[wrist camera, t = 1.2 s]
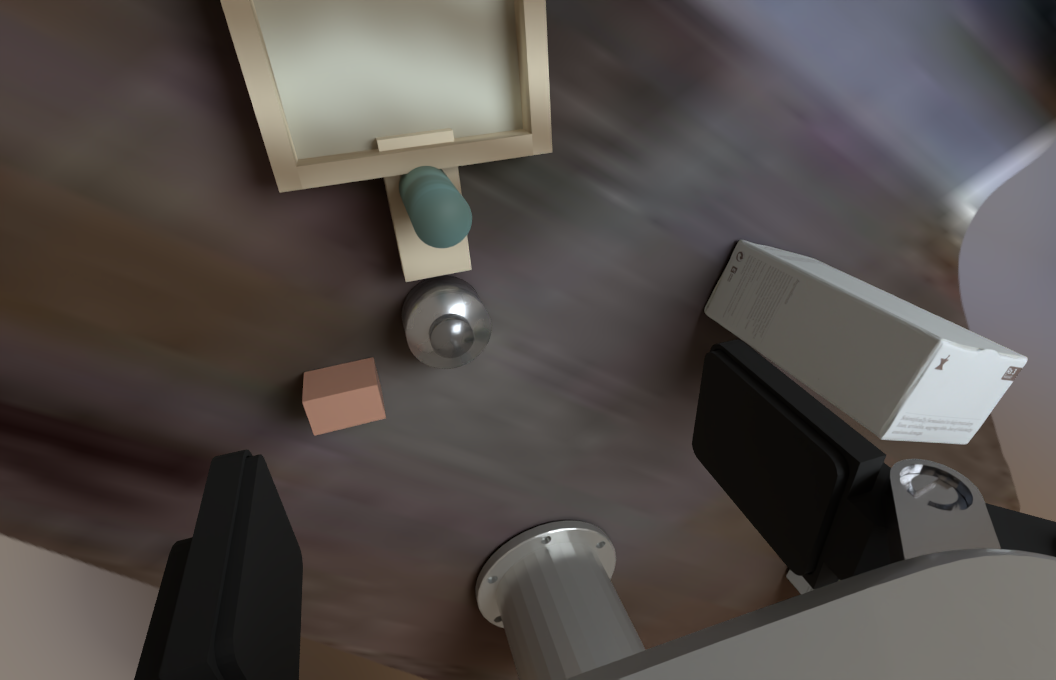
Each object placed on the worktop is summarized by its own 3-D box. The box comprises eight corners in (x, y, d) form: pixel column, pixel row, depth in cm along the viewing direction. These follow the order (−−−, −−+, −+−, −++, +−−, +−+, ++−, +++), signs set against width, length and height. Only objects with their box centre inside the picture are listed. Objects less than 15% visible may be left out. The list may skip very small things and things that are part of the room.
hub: (485, 338, 35) (498, 365, 32) (409, 355, 34) (416, 384, 31) (476, 268, 32) (490, 291, 30) (394, 284, 31) (400, 309, 29)
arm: (543, 245, 33) (587, 292, 27) (315, 287, 30) (312, 350, 24) (519, -184, 23) (580, -246, 17) (173, -182, 20) (115, -257, 14)
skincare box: (700, 311, 39) (869, 446, 27) (739, 231, 37) (943, 339, 25) (784, 328, 43) (968, 454, 31) (825, 256, 40) (1041, 361, 28)
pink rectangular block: (381, 389, 34) (385, 418, 32) (314, 404, 34) (314, 435, 31) (373, 357, 33) (377, 384, 31) (303, 372, 32) (302, 401, 30)
